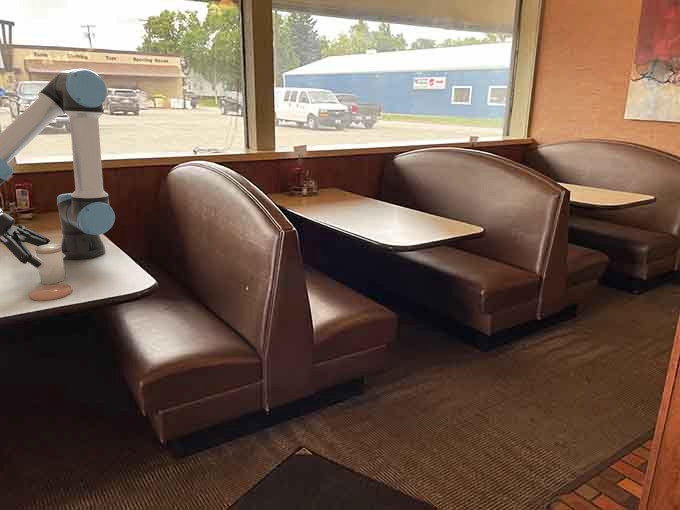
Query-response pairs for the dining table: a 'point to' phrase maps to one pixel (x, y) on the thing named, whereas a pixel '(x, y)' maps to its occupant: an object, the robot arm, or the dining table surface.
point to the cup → (51, 263)
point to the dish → (50, 292)
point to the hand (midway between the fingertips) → (57, 265)
